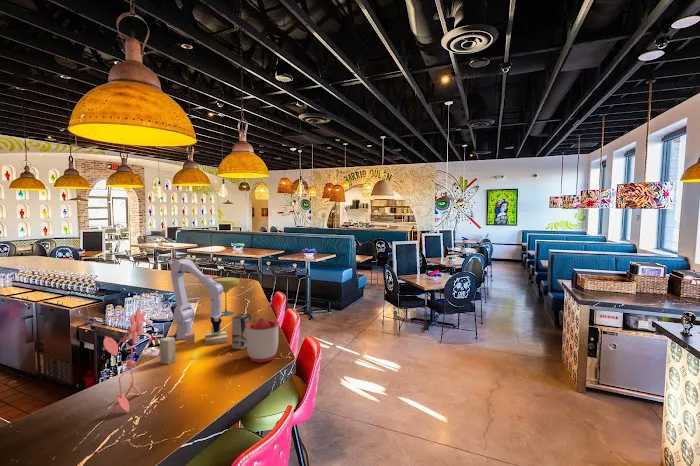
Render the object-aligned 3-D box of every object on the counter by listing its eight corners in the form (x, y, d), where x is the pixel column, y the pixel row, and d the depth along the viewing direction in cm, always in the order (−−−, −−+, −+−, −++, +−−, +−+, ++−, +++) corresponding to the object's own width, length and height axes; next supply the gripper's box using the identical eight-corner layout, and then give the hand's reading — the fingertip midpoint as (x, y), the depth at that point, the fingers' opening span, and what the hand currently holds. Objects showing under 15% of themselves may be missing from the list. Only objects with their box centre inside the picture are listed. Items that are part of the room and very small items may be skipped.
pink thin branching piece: (95, 427, 108) (96, 320, 107) (131, 387, 134) (132, 300, 132) (147, 423, 111) (148, 319, 110) (173, 385, 136) (174, 300, 135)
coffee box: (242, 349, 172) (242, 318, 172) (231, 348, 174) (231, 317, 173) (251, 343, 181) (251, 313, 181) (240, 342, 183) (240, 312, 182)
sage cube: (211, 332, 185) (211, 324, 185) (219, 331, 187) (219, 323, 187) (211, 335, 181) (211, 327, 181) (220, 334, 183) (220, 326, 183)
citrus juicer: (266, 348, 175) (266, 310, 174) (285, 358, 163) (285, 317, 162) (238, 356, 164) (238, 316, 163) (255, 368, 152) (255, 324, 151)
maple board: (205, 338, 187) (204, 333, 187) (225, 335, 192) (225, 330, 192) (205, 345, 177) (205, 340, 177) (227, 342, 182) (227, 337, 182)
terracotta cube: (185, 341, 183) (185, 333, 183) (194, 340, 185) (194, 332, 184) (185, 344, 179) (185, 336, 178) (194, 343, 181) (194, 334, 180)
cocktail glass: (245, 312, 237) (244, 278, 236) (223, 319, 222) (223, 282, 221) (228, 308, 247) (228, 275, 246) (206, 314, 232) (206, 278, 230)
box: (176, 360, 158) (175, 337, 158) (168, 364, 154) (168, 340, 154) (167, 359, 160) (167, 336, 159) (159, 362, 156) (159, 339, 155)
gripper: (224, 308, 179) (224, 333, 179) (222, 302, 192) (222, 325, 192) (210, 310, 176) (210, 335, 176) (209, 303, 189) (209, 327, 189)
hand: (216, 330), depth 184 cm, fingers closed on sage cube, 4 cm apart
